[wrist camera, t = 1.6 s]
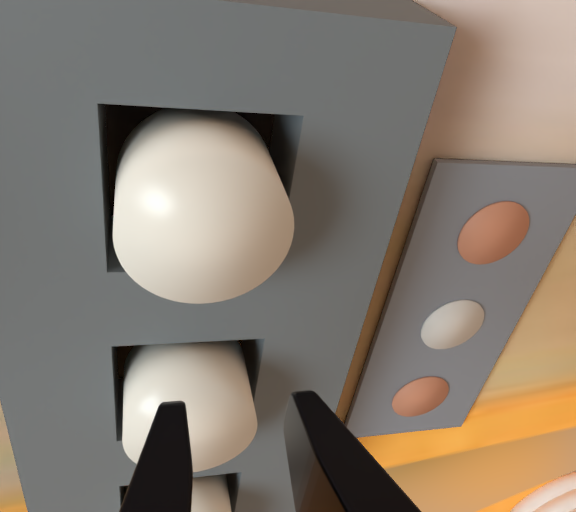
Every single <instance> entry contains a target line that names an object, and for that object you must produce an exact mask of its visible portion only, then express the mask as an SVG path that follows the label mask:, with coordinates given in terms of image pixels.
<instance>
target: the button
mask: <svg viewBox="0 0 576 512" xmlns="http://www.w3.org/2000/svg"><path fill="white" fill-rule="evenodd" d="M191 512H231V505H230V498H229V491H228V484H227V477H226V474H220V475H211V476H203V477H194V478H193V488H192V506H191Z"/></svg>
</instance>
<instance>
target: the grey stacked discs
mask: <svg viewBox="0 0 576 512" xmlns="http://www.w3.org/2000/svg"><path fill="white" fill-rule="evenodd" d="M564 475H565V476H564ZM564 475H561V476H562V477H561V476H559V477H560V478H559V477H557V479H556V478H554V479H555V480H553V479H552V480H553V481H551V482H549V483H547V484H545V485H543V486H542V487H540V488H538V489H536V490H535V491H533V492H532V493H530V494H529V495H527V496H526V497H525V498H523V499H522V500H521V501H520V502H519V503H517V504H516V505H515V506H514V507H513V508H512V510H511V511H510V512H576V471H573V472H570V473H567V474H564Z"/></svg>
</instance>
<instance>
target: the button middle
mask: <svg viewBox="0 0 576 512" xmlns="http://www.w3.org/2000/svg"><path fill="white" fill-rule="evenodd" d="M168 401H183V402H185V405H186V411H187V420H188V428H189V437H190V446H191V454H192V465H193V472H199V471H203V470H207V469H210V468H214V467H216V466H219V465H221V464H223V463H225V462H228V461H229V460H231V459H233V458H234V457H236V456H237V455H239V454H240V453H241V452H242V451H244V450H245V449H246V448H247V447H248V445H249V444H250V443H251V441H252V440H253V438H254V436H255V434H256V431H257V417H256V412H255V407H254V403H253V398H252V393H251V388H250V383H249V379H248V374H247V369H246V364H245V359H244V355H243V351H242V348H241V346H240V344H239V343H238V342H237V340H227V341H208V342H189V343H170V344H151V345H135V346H134V347H133V348H132V349H131V351H130V352H129V354H128V355H127V358H126V360H125V364H124V386H123V432H122V443H123V448H124V451H125V453H126V454H127V456H128V457H129V458H130V459H131V460H132V461H133V462H135V463H136V464H137V462H138V460H139V457H140V454H141V452H142V449H143V446H144V444H145V441H146V438H147V436H148V433H149V430H150V427H151V425H152V422H153V419H154V417H155V414H156V411H157V409H158V406H159V405H160V404H161V403H162V402H168Z"/></svg>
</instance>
